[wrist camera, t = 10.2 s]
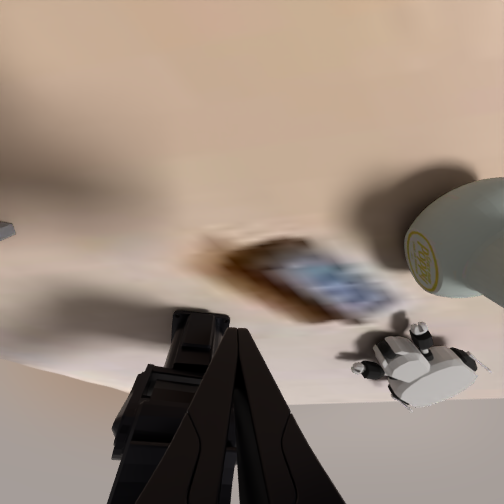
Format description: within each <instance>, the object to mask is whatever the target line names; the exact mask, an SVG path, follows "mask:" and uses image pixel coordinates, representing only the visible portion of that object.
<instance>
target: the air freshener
mask: <svg viewBox="0 0 504 504" xmlns="http://www.w3.org/2000/svg"><path fill="white" fill-rule="evenodd" d="M404 250H405V256H406V260H407V264H408V266H409V269H410V271H411V273H412V275H413V277H414V279H415V280H416V282H417V283H418V284H419V285H420V286H421V287H422V288H423V289H424V290H425V291H427V292H429V293H431V294H434V295H437V296H442V297H450V298H467V297H475V296H480V295H484V296H485V297H487V298H489V299H490V300H492V301H493V302H495V303H497V304H498V305H500V306H501V307H503V308H504V178H503V177H499V178H490V179H483V180H479V181H475V182H472V183H469V184H465V185H463V186H461V187H458V188H456V189H454V190H451V191H450V192H448V193H446V194H445V195H443V196H441V197H439V198H438V199H437V200H435V201H434V202H433V203H431V204H430V205H429V206H428V207H427V208H426V209H424V210H423V211H422V212H421V213H420V215H419V216H418V217H417V218H416V219H415V220H414V222H413V223H412V225H411V226H410V228H409V230H408V232H407V233H406V236H405V240H404Z"/></svg>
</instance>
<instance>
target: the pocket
mask: <svg viewBox="0 0 504 504" xmlns="http://www.w3.org/2000/svg"><path fill="white" fill-rule="evenodd" d="M15 234H16V233H15V230H14V227H13V225H12V224H11V223H4V222H0V241H1V240H4V239H6V238H8V237H11V236H13V235H15Z"/></svg>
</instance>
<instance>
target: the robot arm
mask: <svg viewBox="0 0 504 504" xmlns="http://www.w3.org/2000/svg"><path fill="white" fill-rule="evenodd" d="M229 324H230V317H229V316H224V315H215V314H207V313H198V312H189V311H180V310H176V311H174V313H173V320H172V339H171V347H170V350H169V353H168V356H167V359H166V362H165V365H164V367H159V366H154V365H153V364H148V366H147V368H146V370H145V371H144V372H142V373H141V374H138V376H137V378H136V381H135V383H134V385H133V388H132V390H131V392H130V394H129V396H128V398H127V400H126V402H125V403H124V405H123V407H122V408H121V410H120V412H119V414H118V415H117V417H116V419H115V421H114V423H113V426H112V431H113V433H114V436H115V440H114V446H115V447H114V450H113V454H112V460H121V462H120V465H119V468H118V471H117V474H116V478H115V481H114V483H113V487H112V490H111V493H110V496H109V499H108V502H107V504H230V502H231V489H232V481H233V474H234V467H235V465H238V482H239V499H240V504H346V503H345V501H344V500H343V498H342V497H341V495H340V494H339V492H338V490H337V489H336V487H335V486H334V484H333V483H332V481H331V480H330V478H329V476H328V475H327V473H326V472H325V470H324V469H323V467H322V466H321V464H320V462H319V461H318V459H317V457H316V456H315V454H314V453H313V451H312V449H311V448H310V446H309V444H308V442H307V441H306V439H305V437H304V435H303V433H302V432H301V430H300V428H299V426H298V425H297V423H296V420H295V419H294V417H293V415H292V414H290V409H289V407H288V405H287V403H286V401H285V400H284V398H283V396H282V394H281V392H280V390H279V388H278V386H277V384H276V382H275V380H274V378H273V377H272V375H271V373H270V371H269V369H268V367H267V365H266V363H265V361H264V359H263V357H262V355H261V354H260V352H259V350H258V348H257V346H256V344H255V342H254V340H253V338H252V336H251V334H250V332H249V331H248V329H246V328H238V329H237V328H232V327H229Z"/></svg>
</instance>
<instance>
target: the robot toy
mask: <svg viewBox="0 0 504 504" xmlns="http://www.w3.org/2000/svg"><path fill="white" fill-rule="evenodd" d="M409 331H410V335H411V338H412V340H413V342H414V344H415V345H416V346H417V347H419V348H418V349H417V348H416V346H415V345H414V344H413V343H412V342H411V341H410V340H409V339H407V338H404V337H399V336H396V337H393V336H389V337H386V338H385V340H386V341H381V342H379V343H378V347H377V346H376V344H375V346H374V347H373V350H374V351H375V357H376V358H377V360H378V362H379V363H380V365H381V366H380V365H378V364H377V363H376V362H371V361H362V362H361V363H360V362H358V363H354V364H353V367H351V370H352V372H353V373H355V374H362V375H363V377H364V378H368V379H375V380H376V379H379V378H380V377H382V376H384V375H385V376H388V382H389V385H388V388H389V390H390V392H391V393H392V394H391V396H392V398H393V399H394V400H397V401H398V402H400V403H401V404H402V405H403V406H405V407H406V408H407V409H408V410H409V411H410V412H413V411H412V409H410V407H407V406H406V405H405V404H407V405H412V406H414V407H426V406H430V405H433V404H436V403H439V402H441V401H444V400H447V399H449V398H452V397H454V396H455V395H457V394H459V393H460V392H462V391H464V390H465V389H467V388H468V387H469V386H471V385H472V384H473V383H474V382H475V380H476V378H477V377H478V375H477V374H476V372H475V371H476V370H477V365H476V363H475V360H476V361H477V362H478V363H479V364H481V365H482V366H483V367H484V368H485V369H486V370H487V371H488V372H490V373H492V371H491V370H490V369H489V368H487V367H486V366H484V365H483V364H482V363H481V362H480V361H478V360H477V359H476V358H475V357H474V356H473V355H472V354H471V353H470V352H469V351H468V352H464V351H463V350H459V349H456V348H448V347H446V346H436V347H431V346H432V345H433V340H432V336H431V334H430V333H429V331H428V327H427V325H426V324H425V323H424V322H419V323H418V326H417V325H416V324H413V325H411V328H410V330H409ZM430 347H431V348H430ZM474 359H475V360H474ZM404 403H405V404H404Z"/></svg>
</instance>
